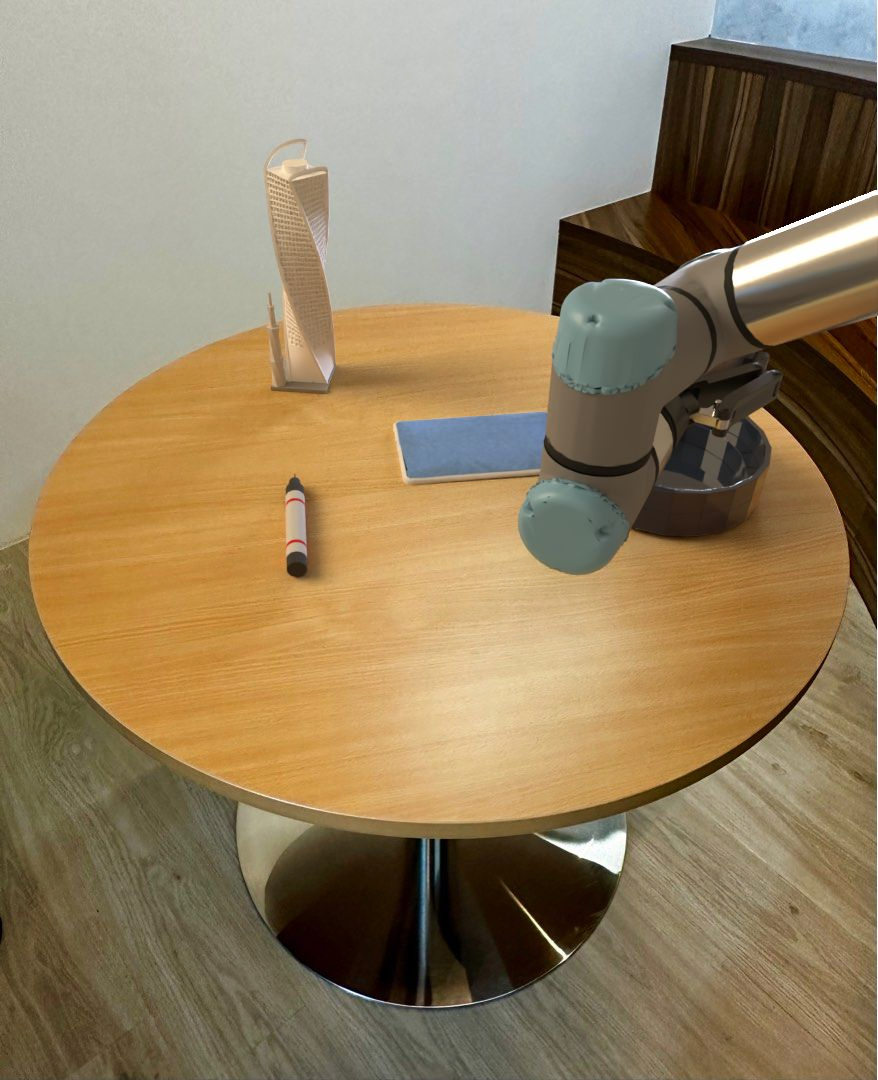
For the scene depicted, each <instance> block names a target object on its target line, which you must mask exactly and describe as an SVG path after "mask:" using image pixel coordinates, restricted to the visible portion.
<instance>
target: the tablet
mask: <svg viewBox="0 0 878 1080" xmlns="http://www.w3.org/2000/svg"><path fill="white" fill-rule="evenodd" d="M546 421H547V411H543V410H542V411H531V412H530V411H529V412H515V413H503V414H502V413H501V414H486V415H472V416H456V417H442V418H441V417H440V418H439V417H438V418H429V419H428V418H426V419H425V418H424V419H410V420H409V419H408V420H398V421H396V422H394V423H393V425H392V430H393V431H392V432H393V434H394V441H395V444H396V445H395V446H396V450H397V451H396V452H397V457H398V461H399V467H400V472H401V477H402V481H403V483H404V484H406V485H408V486H417V485H418V486H419V485H429V484H431V485H432V484H439V483H440V484H441V483H451V482H462V481H464V482H465V481H474V480H487V479H488V480H489V479H500V478H501V479H502V478H515V477H516V478H517V477H524V476H525V477H526V476H527V477H528V476H539V475H540V469H541V460H542V451H543V443H544V438H545V433H546Z"/></svg>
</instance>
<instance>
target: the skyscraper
mask: <svg viewBox="0 0 878 1080" xmlns="http://www.w3.org/2000/svg"><path fill="white" fill-rule="evenodd" d="M296 144H302V150H301V153H300V154H301V155H300V158H288V159H284V160H283V161H282V162H281V165H279V166H278V165H277V166H273V167H269V165H270V163H271V161H272V159H273V158H274V156H275V155H276V154H277V153H278V152H279V151H281V150H282V149H284V148H286V147H289V146H292V145H296ZM308 144H309V143H308V140H307V139H305V138H295V139H291V140H287V141H285V142H283V143H281V144H279V145H278V146H277V147H274V149H273V150H272V151H271V152H270V153H269V156H267V159H266V162H265V164H264V166H263V179H264V187H265V196H266V205H267V206H266V207H267V213H268V221H269V227H270V234H271V240H272V246H273V250H274V254H275V255H274V256H275V260H276V263H277V264H276V265H277V268H278V271H279V275H280V279H281V299H282V300H281V301H282V302H281V304H282V324H283V339H284V353H285V358H284V356H283V351H282V345H281V340H280V324H278V323H277V322H276V315H275V305H274V304H273V301H272V300H273V299H272V291H271V290H270V291H269V290H268V291H267V295H268V296H267V297H268V304H267V312H268V324H267V326H266V331H267V334H268V335H267V336H268V344H269V359H268V360H269V364H270V369H271V385H270V390H271V391H279V392H281V391H282V392H296V393H311V394H321V395H323V394H324V395H327V391H328V389H329V387H330V384H331V381H332V378H333V376H334V373H335V371H336V368H337V357H336V340H335V327H334V317H333V309H332V302H331V295H330V289H329V285H328V281H327V277H326V272H325V267H326V261H327V260H326V259H327V253H328V246H329V237H330V220H331V219H330V215H331V206H330V205H331V202H330V201H331V200H330V199H331V195H330V168H328V166H313V165H311V164H309V162H308V161H307V160H306V159H305V158H306V153H307V149H308Z"/></svg>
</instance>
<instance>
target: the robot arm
mask: <svg viewBox="0 0 878 1080" xmlns="http://www.w3.org/2000/svg"><path fill="white" fill-rule="evenodd" d="M560 308H561V309H560V313H559V319H558V323H557V324H558V325H557V329H556V335H555V337H554V342H553V343H552V349H551V350H552V352H551V370H550V380H549V381H550V382H549V391H548V392H549V393H548V400H547V401H548V402H547V403H548V404H547V411H546V412H547V421H546V433H545V438H544V443H543V451H542V460H541V469H540V475H538V478H537V481H536V482H535V483H534V484H533V485H531V486H530V487H529V489H528V491H527V492H526V493H525V499H524V500H523V502H522V504H521V506H520V508H519V511H518V514H517V529H518V533H519V537H520V539H521V541H522V543H523V545H524V547H525V548H526V550H527V551H528V552H529V553H530V555H531V556H532V557H533V558H534V559H536V560H537V562H539V563H541V565H544V566H546V567H547V568H549V569H551V570H555V571H558V572H559V573H564V574H565V575H570V576H584V575H585V576H586V575H590V574H593V573H595V572H598V571H600V570H602V569H603V568H605V567H606V566H607V565H609V563H611V561H612V560H613V559H614V557H615V555H616V554H617V553H618V551H619V550H620V548H621V547H623V546H624V545H625V543H627V541H628V539H629V538H630V537H629V535H630V531H631V529H632V525H633V524H634V522H635V520H636V518H637V516H638V514H639V512H640V511H641V509H642V507H643V505H644V503H645V501H646V499H647V498H648V496H649V494H650V492H651V490H652V488H653V486H654V485H655V483H656V481H657V479H658V477H659V476H660V474H661V472H662V470H663V469H664V467H665V465H666V464H667V462H668V460H669V458H670V456H671V455H672V453H673V451H674V450H675V448H676V446H677V444H678V442H679V441H680V439H681V437H682V435H683V433H684V431H685V430H686V428H688V427H690V426H693V425H694V424H695V423H696V422H697V423H701V424H704V425H708V426H711V427H713V429H712V434H713V435H714V436H716V437H720V438H721V437H725V436H726V435H727V433H728V431H729V429H730V427H731V426H732V425H734V424H736V423H737V422H739V421H740V420H742V419H744V418H745V417H747V416H749V417H750V415H752V414H754V413H756V412H757V411H759V410H760V409H762V408H763V407H765V406H767V405H769V404H770V403H772V402H773V401H775V400H776V399H777V396H778V393H779V390H780V387H781V382H782V381H783V380H782V379H783V376H784V373H783V372H782V371H780V370H778V369H771V370H767V367H768V364H769V361H770V353H768V352H764V351H763V350H767V349H769V348H773V347H775V346H779V345H781V344H785V343H789V342H792V341H795V340H799V339H802V338H806V337H810V336H813V335H817V334H821V333H823V332H827V331H830V330H831V331H832V330H834V329H837V328H840V327H844V326H848V325H851V324H855V323H858V322H862V321H865V320H869V319H872V318H873V319H874V318H876V317H878V189H877V190H873V191H871V192H869V193H867V194H864V195H861V196H858V197H856V198H853V199H852V200H849V201H846V202H844V203H841V204H839V205H836V206H833V207H831V208H828V209H826V210H824V211H821V212H818V213H816V214H814V215H811V216H809V217H806V218H804V219H801V220H799V221H796V222H794V223H791V224H789V225H786V226H784V227H781V228H779V229H776V230H774V231H771V232H769V233H765V234H764V235H760V236H759V237H757V238H754V239H751V240H749V241H746V242H745V243H744V244H741V245H738V246H735V247H732V248H721V249H716V250H713V251H710V252H707V253H703V254H702V255H700V256H697V257H695V258H693V259H691V260H688V261H687V262H685V263H683V264H682V265H680V266H679V268H678V269H677V270H676V271H674V272H673V273H671V274H670V275H668V276H666V277H665V278H663V279H661V280H660V281H658V282H657V283H656V284H654V285H651V284H648V283H646V282H642V281H638V280H633V279H625V278H605V279H604V280H602V281H601V282H599V281H597V282H596V281H588V282H585V283H583V284H581V285H579V286H577V287H575V288H574V289H573V290H571V292H569V293H568V295H566V297H565V299H564V300H563V302H562V304H561V307H560ZM743 355H745V357H744V360H743V364H742V365H741V366H738V367H734V368H731V369H727V370H724V371H720V372H717V373H713V374H710V375H706V376H704V375H705V374H706V373H708V372H709V371H710V370H712V369H713V368H714V367H715V366H717V365H718V364H720V363H722V362H725V361H727V360H730V359H733V358H737V357H740V356H743ZM702 376H703V377H702ZM713 404H714V405H713ZM710 405H712V406H710ZM707 406H710V407H709V408H704V407H707Z"/></svg>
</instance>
